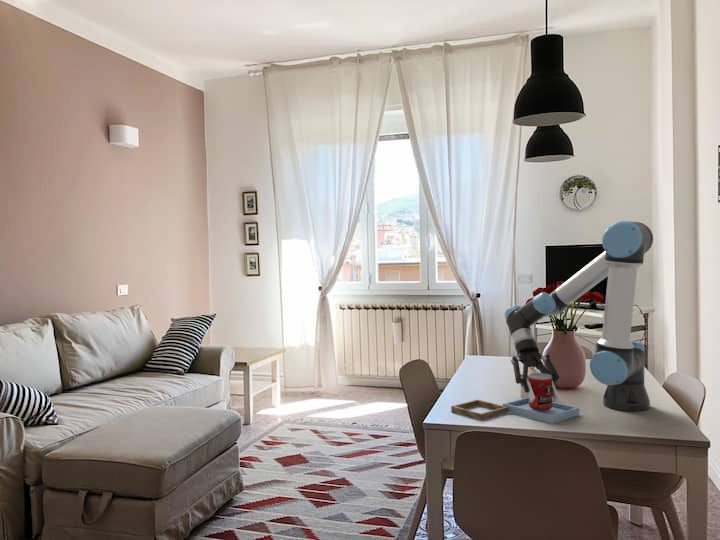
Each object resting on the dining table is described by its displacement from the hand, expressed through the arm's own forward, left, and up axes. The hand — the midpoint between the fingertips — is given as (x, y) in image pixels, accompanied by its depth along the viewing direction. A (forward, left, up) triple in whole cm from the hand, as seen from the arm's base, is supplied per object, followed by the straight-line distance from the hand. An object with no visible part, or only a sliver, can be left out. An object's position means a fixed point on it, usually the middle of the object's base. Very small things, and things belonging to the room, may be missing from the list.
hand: (544, 399), depth 198 cm
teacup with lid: (+19, -19, -6) cm, 27 cm away
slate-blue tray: (+3, -2, -6) cm, 6 cm away
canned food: (+3, -2, -4) cm, 5 cm away
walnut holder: (+17, +13, -6) cm, 22 cm away
